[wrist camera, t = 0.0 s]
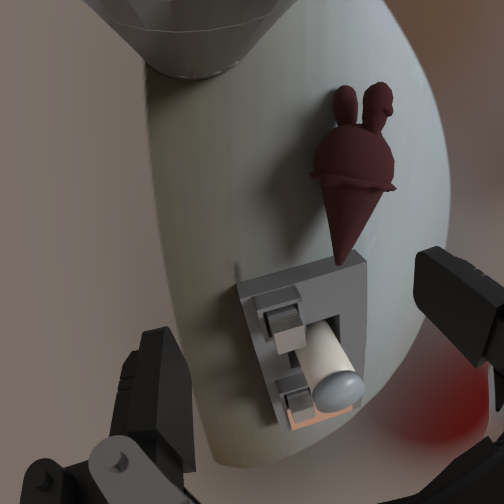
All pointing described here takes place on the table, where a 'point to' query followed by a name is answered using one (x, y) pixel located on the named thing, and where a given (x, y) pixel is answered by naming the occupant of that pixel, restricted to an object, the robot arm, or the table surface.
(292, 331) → the button front
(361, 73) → the table surface
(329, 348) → the cartridge
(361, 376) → the housing
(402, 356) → the table surface
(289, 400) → the button back
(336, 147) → the icecream
